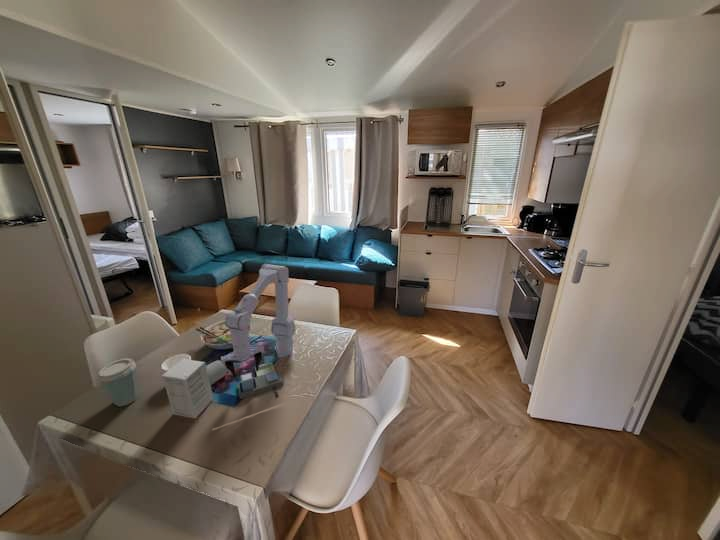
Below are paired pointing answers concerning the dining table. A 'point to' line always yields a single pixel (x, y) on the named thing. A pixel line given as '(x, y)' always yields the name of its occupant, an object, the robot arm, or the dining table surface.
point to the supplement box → (188, 388)
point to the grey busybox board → (263, 384)
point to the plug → (247, 382)
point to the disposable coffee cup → (120, 381)
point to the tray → (265, 369)
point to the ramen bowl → (218, 335)
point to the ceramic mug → (216, 371)
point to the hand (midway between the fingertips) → (246, 372)
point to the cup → (173, 362)
